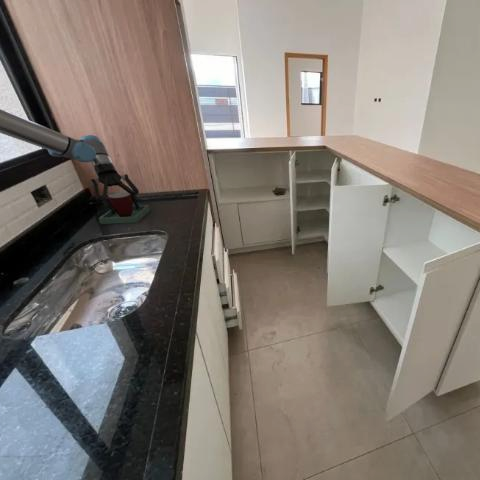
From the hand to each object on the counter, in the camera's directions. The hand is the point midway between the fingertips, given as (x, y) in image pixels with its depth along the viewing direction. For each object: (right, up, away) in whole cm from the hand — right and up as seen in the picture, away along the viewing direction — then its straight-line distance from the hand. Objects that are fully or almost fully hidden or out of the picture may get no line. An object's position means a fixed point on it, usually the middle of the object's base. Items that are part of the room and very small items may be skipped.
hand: (126, 210), depth 118 cm
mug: (-2, -2, +4) cm, 5 cm away
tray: (-2, -3, +4) cm, 5 cm away
